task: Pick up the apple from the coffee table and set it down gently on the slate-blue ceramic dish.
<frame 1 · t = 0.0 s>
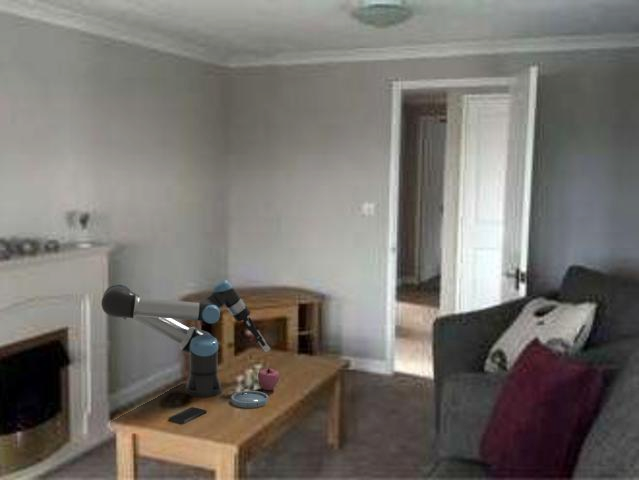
hand: (265, 346, 309), 15 cm above the table, tool tilted 35°, fingers open, 13 cm apart
dish: (249, 401, 281), on the table
apple: (268, 389, 297), on the table
phone: (187, 417, 262), on the table
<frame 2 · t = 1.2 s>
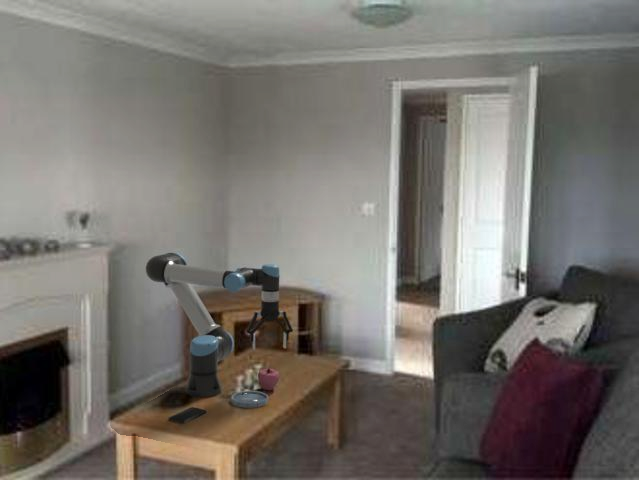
hand: (269, 348, 295), 18 cm above the table, tool pointing down, fingers open, 13 cm apart
nothing on the table moved.
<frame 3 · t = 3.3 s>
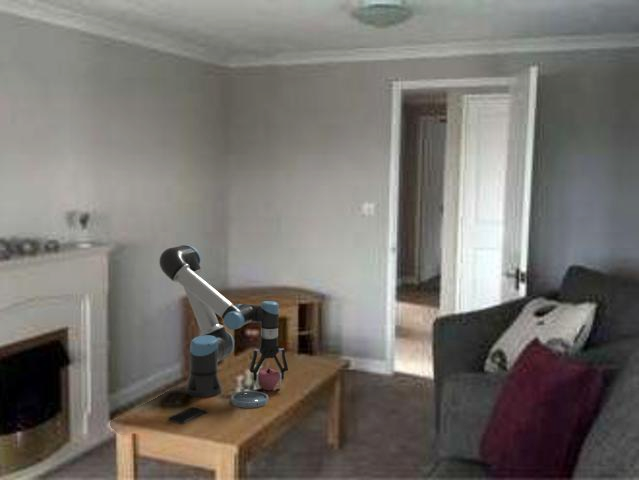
hand: (268, 387, 296), 1 cm above the table, tool pointing down, fingers closed on apple, 9 cm apart
apple: (268, 389, 297), on the table, touching gripper
everything else where it was.
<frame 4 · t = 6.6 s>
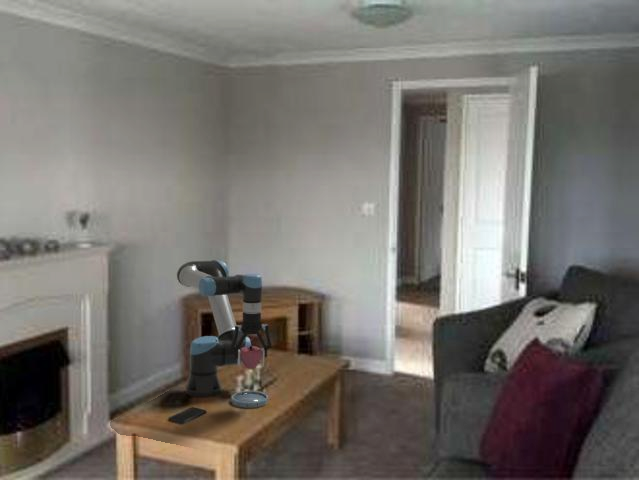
hand: (250, 365, 279), 15 cm above the table, tool pointing down, fingers closed on apple, 9 cm apart
apple: (250, 368, 279), point 14 cm above the table, touching gripper
everything else where it was.
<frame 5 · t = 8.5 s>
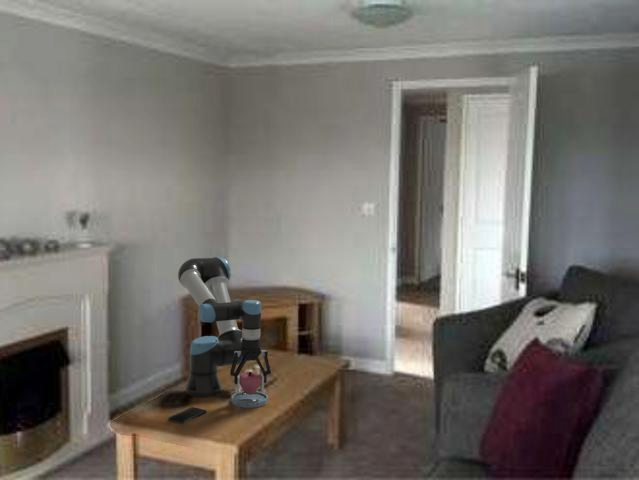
hand: (250, 391, 280), 4 cm above the table, tool pointing down, fingers closed on apple, 9 cm apart
apple: (249, 394, 280), point 3 cm above the table, touching gripper
everything else where it was.
when the fingers open (4 cm above the table, at t = 9.5 s): apple drops 2 cm, resting on dish.
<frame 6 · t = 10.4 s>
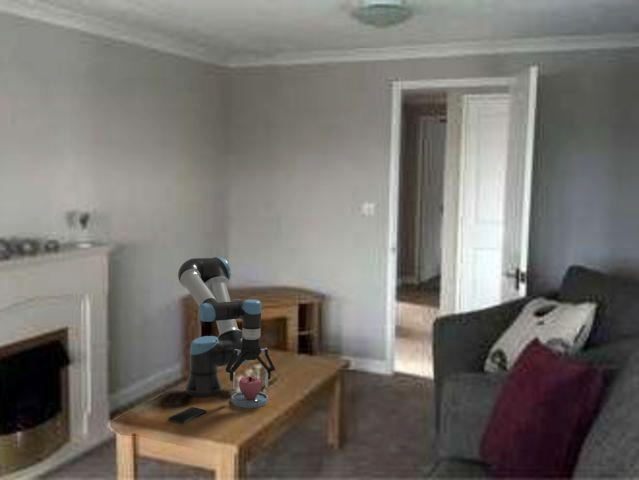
hand: (250, 387, 280), 6 cm above the table, tool pointing down, fingers open, 13 cm apart
apple: (250, 398, 281), point 1 cm above the table, touching dish
everything else where it was.
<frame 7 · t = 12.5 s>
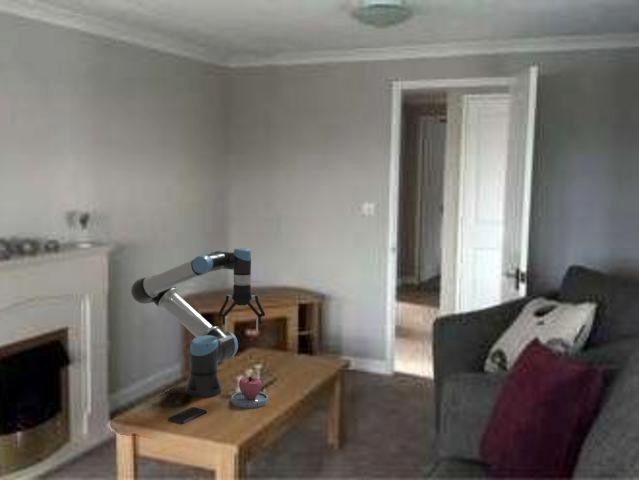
hand: (241, 331, 296), 25 cm above the table, tool pointing down, fingers open, 13 cm apart
nothing on the table moved.
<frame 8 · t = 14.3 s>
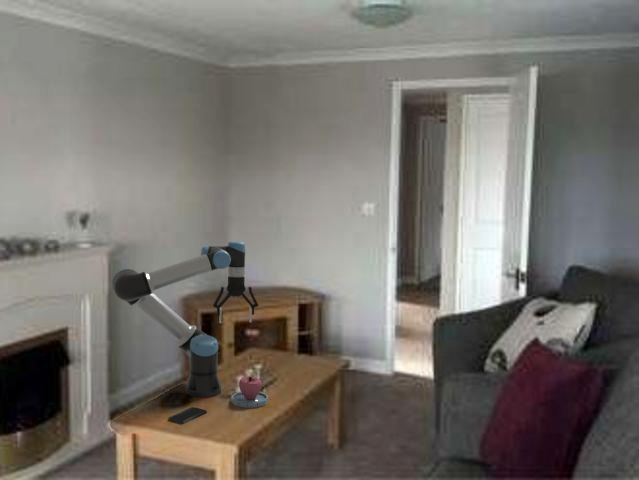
hand: (235, 322, 306), 27 cm above the table, tool pointing down, fingers open, 13 cm apart
nothing on the table moved.
at the end: apple inside the target area on the dish (0.1 cm from its centre), point 1.0 cm above the dish's base; apple touching dish; the gripper is holding nothing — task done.
